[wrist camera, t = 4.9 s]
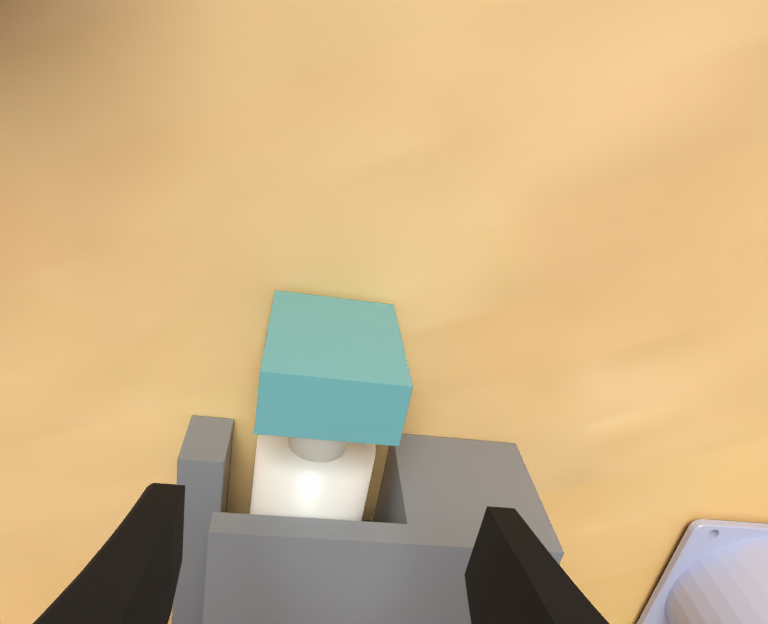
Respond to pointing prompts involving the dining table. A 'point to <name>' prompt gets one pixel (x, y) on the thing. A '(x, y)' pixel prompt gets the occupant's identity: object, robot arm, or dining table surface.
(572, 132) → the dining table surface
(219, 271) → the dining table surface
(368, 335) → the cartridge
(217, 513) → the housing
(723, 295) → the dining table surface
